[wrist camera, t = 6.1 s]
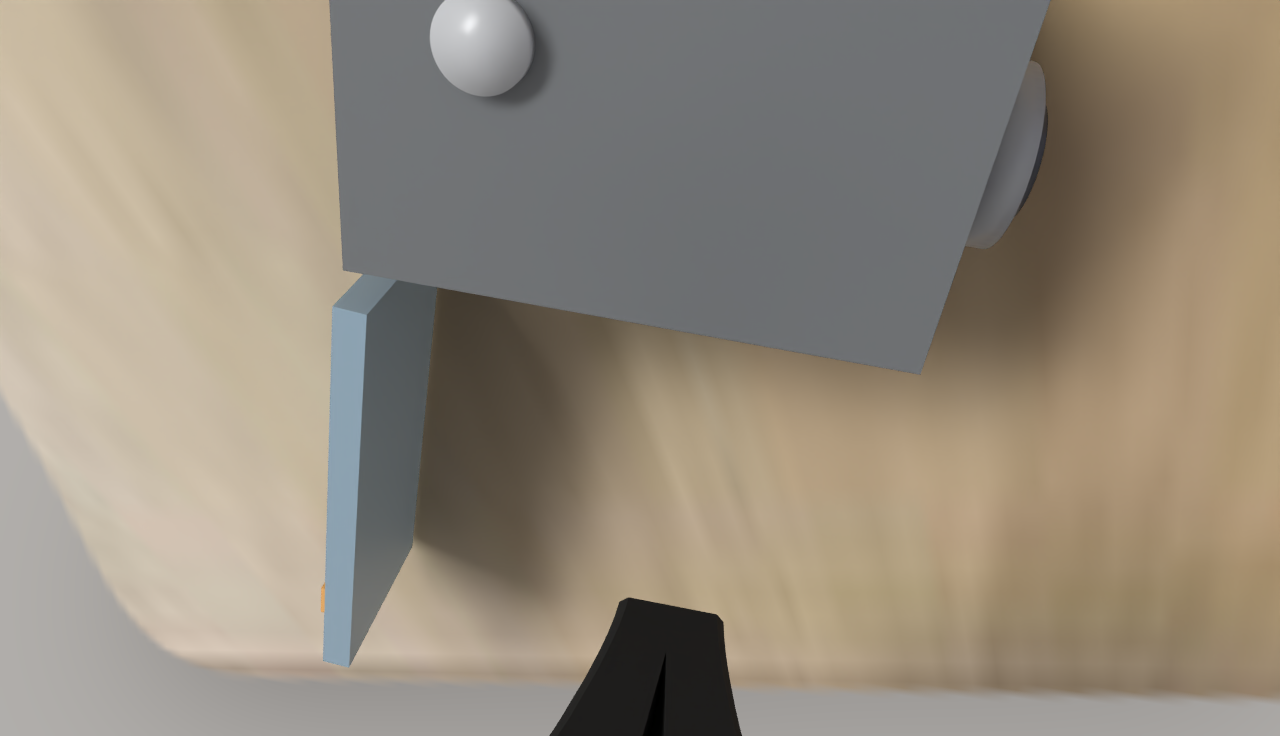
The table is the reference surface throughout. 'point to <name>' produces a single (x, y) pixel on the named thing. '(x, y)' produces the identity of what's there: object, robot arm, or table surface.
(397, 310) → the door
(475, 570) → the table surface
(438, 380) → the table surface
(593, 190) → the camera body
